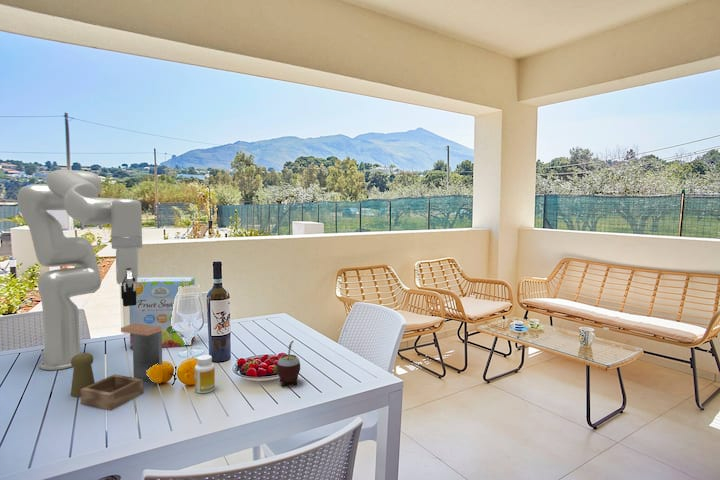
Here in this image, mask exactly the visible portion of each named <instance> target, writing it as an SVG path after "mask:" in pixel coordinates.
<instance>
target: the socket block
mask: <svg viewBox="0 0 720 480" xmlns="http://www.w3.org/2000/svg"><path fill="white" fill-rule="evenodd" d="M80 394H81V397H80V404H81V405H84V406H88V407H93V408H98V409H103V410H108V411H112V410H114V409H116V408H118V407H120V406H122V405H123V404H125V403H127V402H129V401H131V400H134V399H135V398H137V397H138V396H140V395H143V394H144V381H143V379H138V378H134V377H131V376H127V375H122V374H121V375H120V374H117V373H115V374H112V375H110V376H107V377H106V378H103V379H100V380H99V381H96V382H95V383H94V384H91V385H89V386H87V387H84V388H82V389H80Z"/></svg>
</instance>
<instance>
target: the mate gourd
mask: <svg viewBox="0 0 720 480" xmlns="http://www.w3.org/2000/svg"><path fill="white" fill-rule="evenodd" d="M293 343H294V340H292V341H291V342H290V343H289V345H288V352H287V354H283V355H281V356H280V357H279V358H278V360H277V362H276V372H277V375H278V377H279V382H281V383H282V384H281V388H285V387H286V386H287V385H291V386H292V385H293V386H298V382H297V381H298V378H299V374H300V370H301V362H300V359H299V357H298V356H297V355H295V354H291V351H292V350H291V349H292V345H293Z"/></svg>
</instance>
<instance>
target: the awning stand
mask: <svg viewBox="0 0 720 480" xmlns="http://www.w3.org/2000/svg"><path fill="white" fill-rule="evenodd" d="M120 332H121V333H127V334H128V333H129V334H130V333H132V337H133V349H132V363H133V364H132V366H133V368H132V369H133V378H138V379H143V382H147V383H153V384H155V383H154V382H152V381H151V380H150V379H149V377H148V376H147V375H146V370H148V369H149V368H150V367H152V366H153V365H155V364H157V363H158V364H159V365H161V364H162V365H163V347H162V327H160V326H153V325H146V324H138V323H134V324H131V325H130V324H129V325H126V326H122V327H120ZM158 364H157V365H158Z"/></svg>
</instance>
